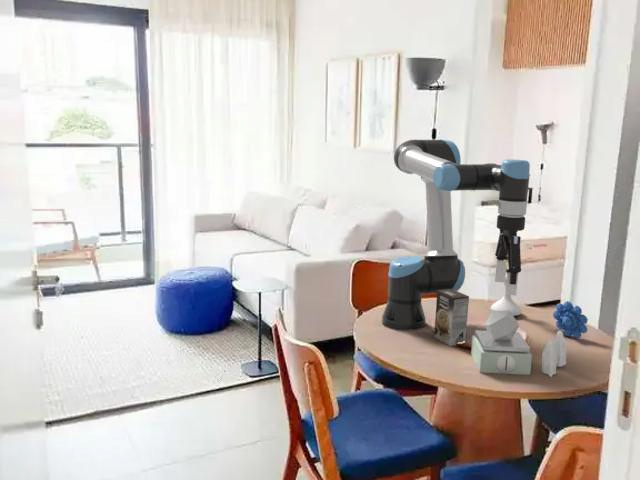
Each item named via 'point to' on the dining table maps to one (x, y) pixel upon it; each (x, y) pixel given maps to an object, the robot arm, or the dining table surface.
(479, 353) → the block
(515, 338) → the pan
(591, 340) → the dining table surface
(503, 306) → the flower in vase
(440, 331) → the coffee box
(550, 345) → the salt and pepper shakers
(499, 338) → the die
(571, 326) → the grapes
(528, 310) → the dining table surface
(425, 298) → the dining table surface
